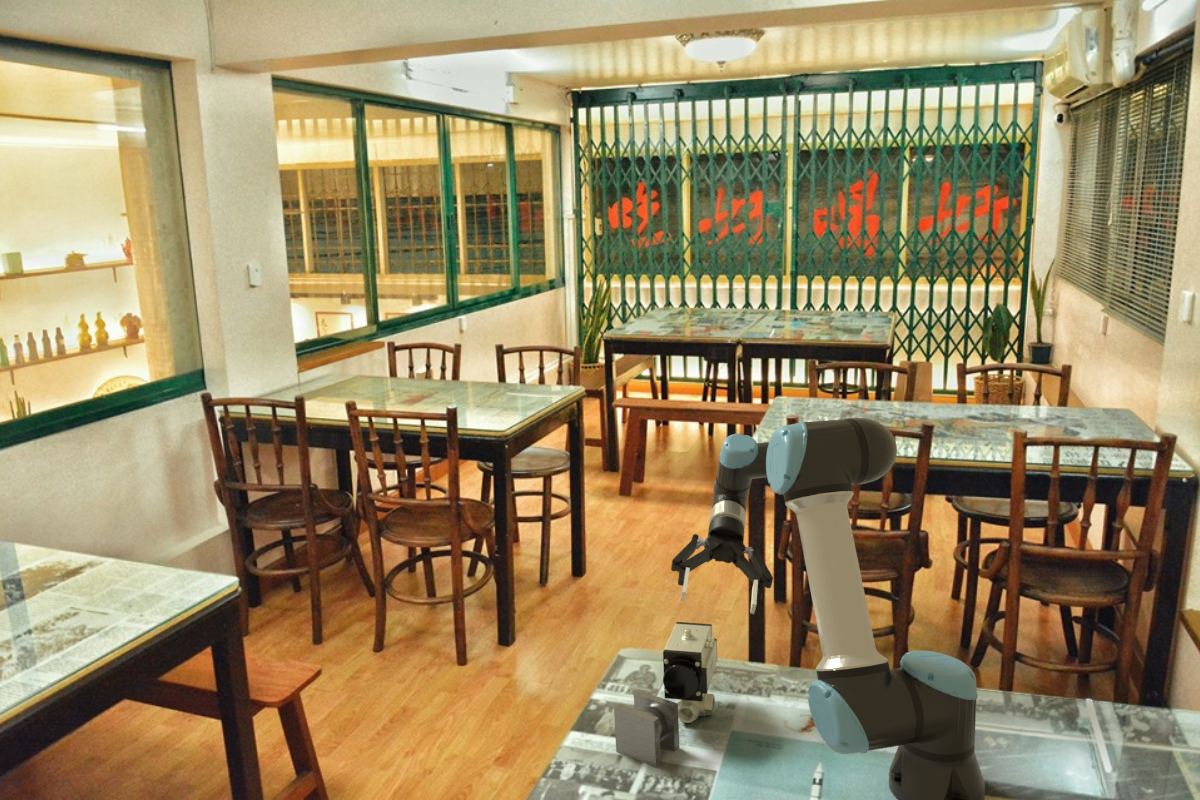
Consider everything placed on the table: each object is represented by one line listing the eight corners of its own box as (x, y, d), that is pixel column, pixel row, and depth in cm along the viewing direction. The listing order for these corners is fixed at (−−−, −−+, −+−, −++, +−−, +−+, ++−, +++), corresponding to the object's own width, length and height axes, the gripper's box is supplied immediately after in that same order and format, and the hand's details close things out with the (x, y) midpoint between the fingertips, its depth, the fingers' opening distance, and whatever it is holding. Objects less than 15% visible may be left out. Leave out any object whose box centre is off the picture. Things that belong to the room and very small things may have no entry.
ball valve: (708, 740, 174) (705, 652, 170) (663, 735, 176) (660, 648, 173) (721, 693, 191) (719, 612, 187) (680, 689, 193) (678, 609, 190)
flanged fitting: (679, 748, 172) (677, 703, 170) (655, 767, 166) (654, 721, 164) (640, 733, 177) (638, 689, 176) (616, 751, 172) (614, 706, 170)
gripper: (782, 550, 198) (779, 627, 181) (666, 530, 201) (653, 604, 184) (789, 524, 193) (786, 601, 176) (670, 504, 196) (656, 578, 179)
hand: (718, 603), depth 180 cm, fingers open, 13 cm apart
